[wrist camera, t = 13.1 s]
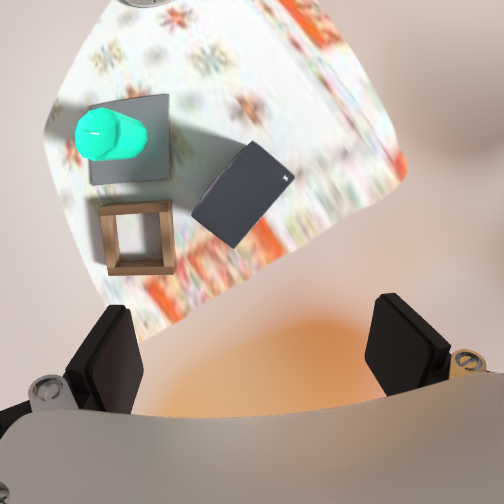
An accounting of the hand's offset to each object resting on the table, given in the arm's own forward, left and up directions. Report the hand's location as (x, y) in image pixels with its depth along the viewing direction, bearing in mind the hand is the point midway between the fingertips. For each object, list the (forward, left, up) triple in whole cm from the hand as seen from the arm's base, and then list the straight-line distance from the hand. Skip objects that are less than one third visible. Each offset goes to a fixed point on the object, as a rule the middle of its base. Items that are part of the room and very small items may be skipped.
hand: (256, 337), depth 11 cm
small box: (-2, +1, -33) cm, 33 cm away
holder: (+4, -14, -32) cm, 36 cm away
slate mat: (-10, -15, -32) cm, 37 cm away
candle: (-10, -15, -32) cm, 37 cm away
